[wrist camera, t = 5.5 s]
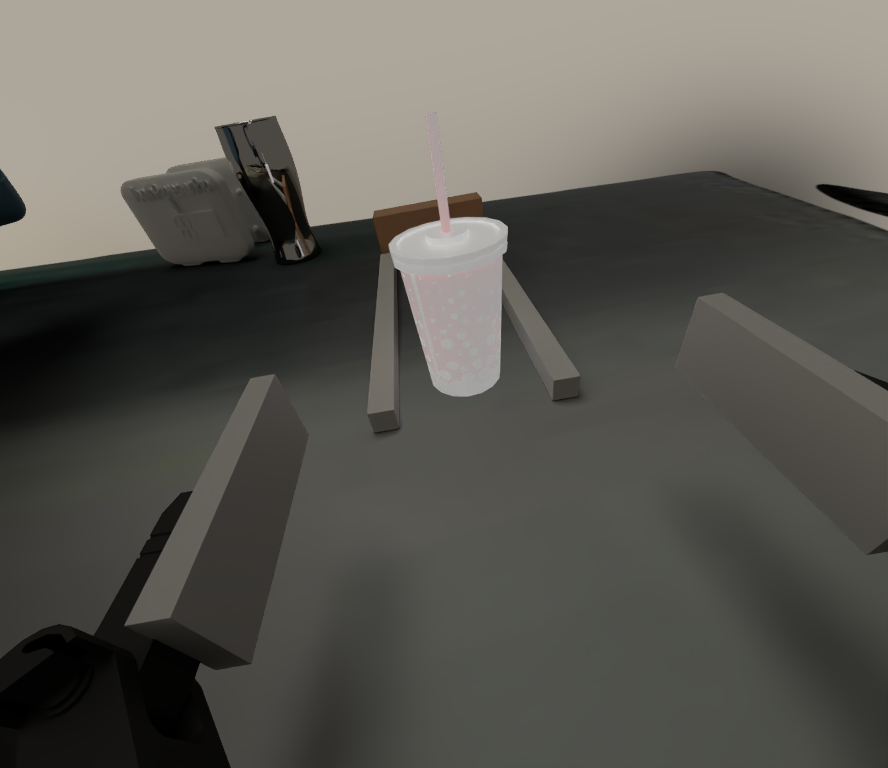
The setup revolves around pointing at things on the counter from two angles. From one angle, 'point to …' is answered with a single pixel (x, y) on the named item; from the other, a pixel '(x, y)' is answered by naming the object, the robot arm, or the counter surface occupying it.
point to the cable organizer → (195, 213)
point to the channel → (517, 305)
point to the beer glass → (270, 185)
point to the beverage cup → (454, 289)
